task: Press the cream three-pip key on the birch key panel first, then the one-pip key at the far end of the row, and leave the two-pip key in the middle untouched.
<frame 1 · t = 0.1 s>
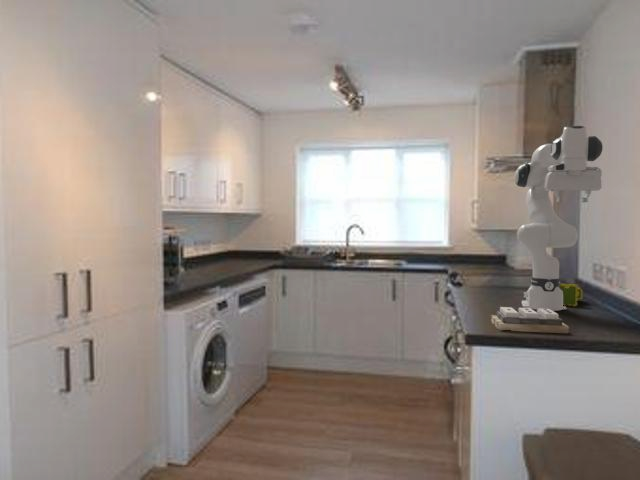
hand: (572, 202, 194), 48 cm above the countertop, fingers open, 8 cm apart
key one: (508, 312, 189), point 5 cm above the countertop, slide at 0.0 cm
key three: (547, 313, 187), point 5 cm above the countertop, slide at 0.0 cm
key two: (528, 312, 188), point 5 cm above the countertop, slide at 0.0 cm
key panel: (527, 326, 188), on the countertop
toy: (560, 301, 250), on the countertop
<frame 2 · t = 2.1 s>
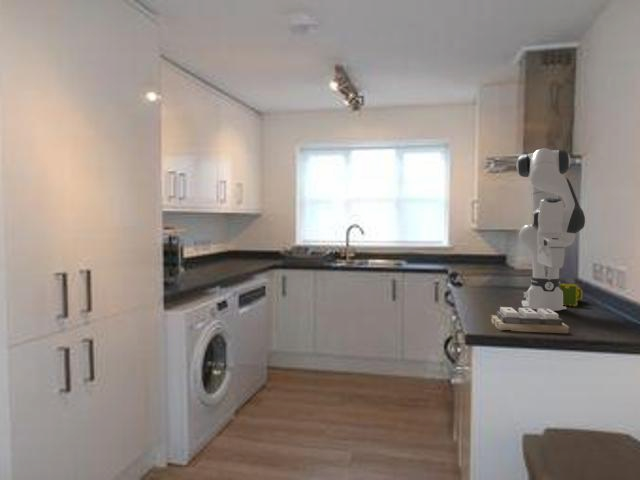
hand: (548, 277, 186), 19 cm above the countertop, fingers open, 3 cm apart
nothing on the countertop moved.
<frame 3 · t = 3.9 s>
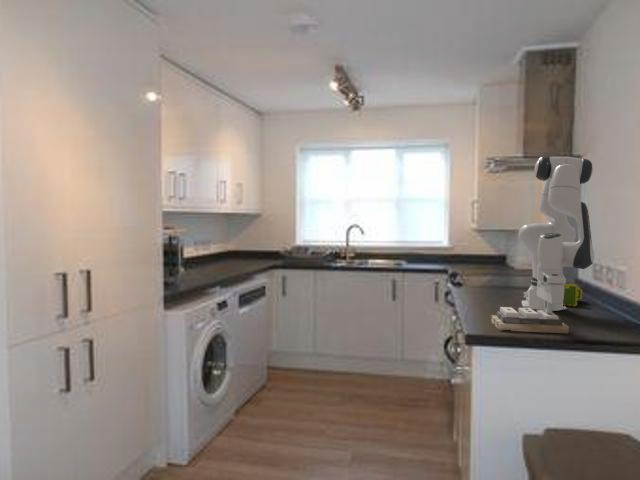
hand: (548, 312, 187), 6 cm above the countertop, fingers closed, pressing on key three
key three: (547, 315, 187), point 5 cm above the countertop, slide at 0.7 cm, touching gripper
everything else where it was.
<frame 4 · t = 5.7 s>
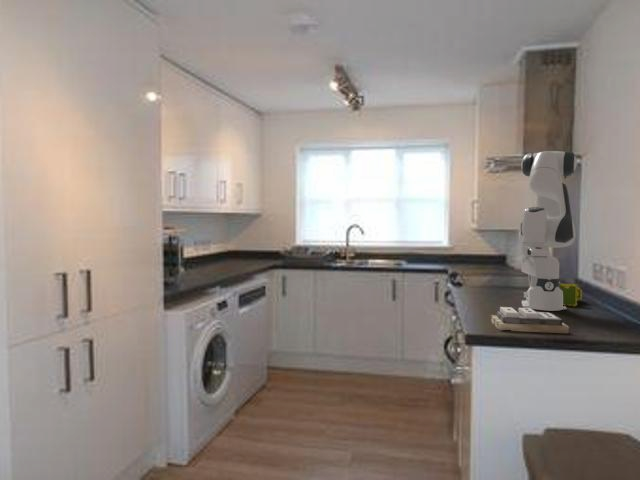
hand: (532, 286, 187), 16 cm above the countertop, fingers closed
key three: (547, 317, 187), point 4 cm above the countertop, slide at 1.5 cm
everything else where it was.
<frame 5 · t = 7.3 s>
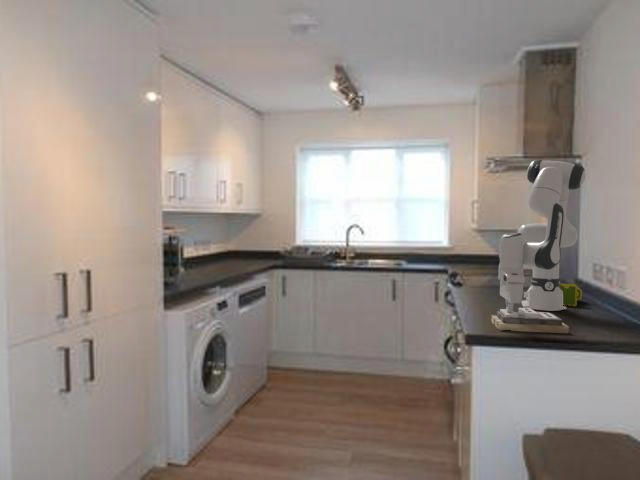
hand: (509, 311, 189), 6 cm above the countertop, fingers closed, pressing on key one
key one: (508, 314, 189), point 5 cm above the countertop, slide at 0.8 cm, touching gripper
everything else where it was.
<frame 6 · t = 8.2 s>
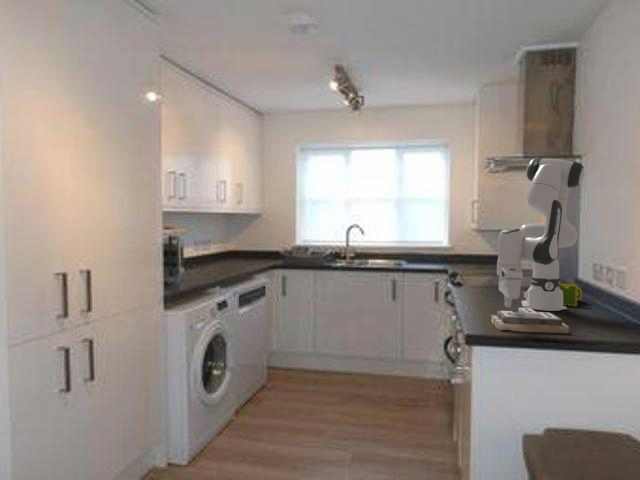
hand: (507, 306, 190), 7 cm above the countertop, fingers closed
key one: (508, 315, 189), point 4 cm above the countertop, slide at 1.5 cm
everything else where it was.
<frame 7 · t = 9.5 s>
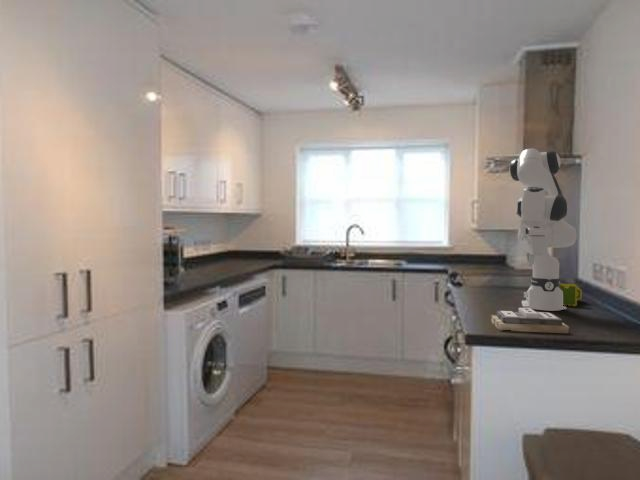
hand: (530, 264, 193), 23 cm above the countertop, fingers closed
nothing on the countertop moved.
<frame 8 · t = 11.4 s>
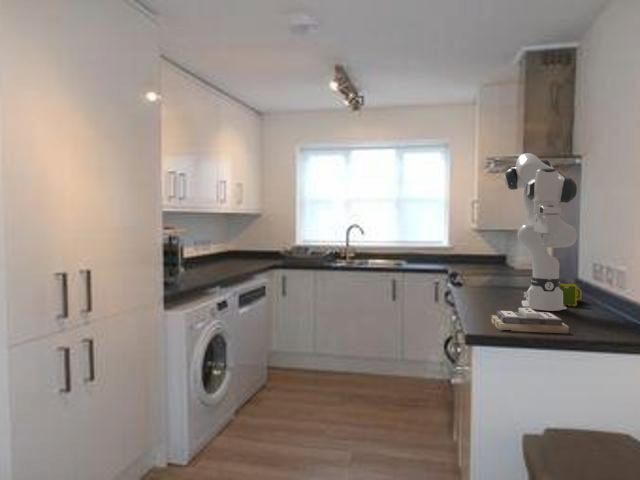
hand: (544, 244, 195), 31 cm above the countertop, fingers closed
nothing on the countertop moved.
at the end: key three slide at 1.5 cm; key one slide at 1.5 cm; key two slide at 0.0 cm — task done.
